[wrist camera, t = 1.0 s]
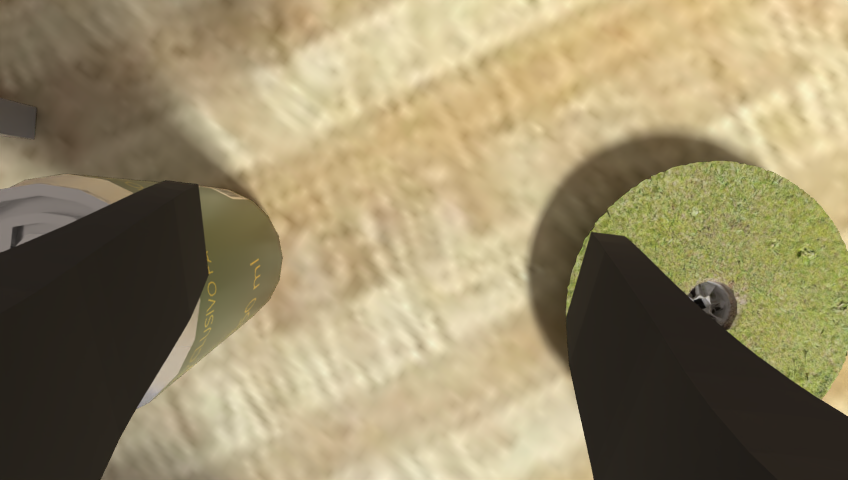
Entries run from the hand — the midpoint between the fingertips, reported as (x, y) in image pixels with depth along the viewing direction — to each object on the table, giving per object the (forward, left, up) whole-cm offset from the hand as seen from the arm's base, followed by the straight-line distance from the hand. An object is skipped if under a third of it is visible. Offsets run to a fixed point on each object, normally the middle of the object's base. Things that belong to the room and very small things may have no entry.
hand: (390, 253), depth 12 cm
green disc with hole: (-2, -12, -13) cm, 18 cm away
